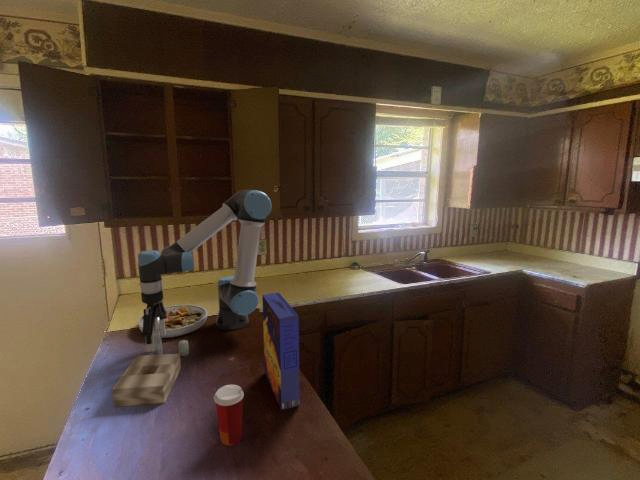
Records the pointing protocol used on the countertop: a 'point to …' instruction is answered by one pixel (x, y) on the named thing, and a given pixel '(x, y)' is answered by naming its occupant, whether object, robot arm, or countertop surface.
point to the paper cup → (229, 413)
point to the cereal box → (281, 349)
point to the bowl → (181, 320)
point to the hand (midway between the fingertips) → (156, 342)
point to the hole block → (147, 380)
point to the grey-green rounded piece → (183, 348)
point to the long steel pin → (157, 337)
